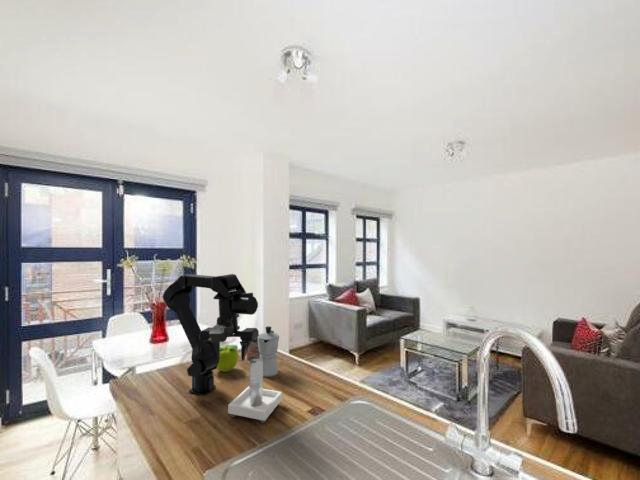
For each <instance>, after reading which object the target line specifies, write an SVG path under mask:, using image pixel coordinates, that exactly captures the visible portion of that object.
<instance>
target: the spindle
mask: <svg viewBox="0 0 640 480" xmlns="http://www.w3.org/2000/svg"><path fill="white" fill-rule="evenodd" d="M263 379H264V377H263V360H262V359H253V360H249V386H250V390H249V404H250V406H254V407H256V406H260V405H261V404H262V403H263V389H264V380H263Z"/></svg>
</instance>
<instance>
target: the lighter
mask: <svg viewBox="0 0 640 480" xmlns="http://www.w3.org/2000/svg"><path fill="white" fill-rule="evenodd" d="M259 357H260V352H259V348H258V339H257V338H255V339H254V340H253V341H251V343H250V345H249V348H248V351H247V354H246V357H245V359H246V360H247V361H251V360H253V359H259Z"/></svg>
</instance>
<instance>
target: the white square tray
mask: <svg viewBox="0 0 640 480" xmlns="http://www.w3.org/2000/svg"><path fill="white" fill-rule="evenodd" d="M249 390H250V385H248V386H247V387H246V388H245V389H243V391H242V392H241V393H239V394H238V395H237V396H236V397H235V398H234V399H233V400H232V401H231V402H230V403H229V404H228V405H227V406H228V407H227V414H230V416H231V418H236V417H237V416H239V417H245V418H248V419H255V420H258V421H259V422H260V424H265V423H266V421H267V419H268V418H269V416H270V415H271V414H272V412H274V410H275V409H276V407H279V405H280V403H281V402H282V400H283V391H279V390H272V389H268V388H263V403H262V404H261V405H260V406H256V407H254V406H250V404H249Z"/></svg>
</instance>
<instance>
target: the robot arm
mask: <svg viewBox="0 0 640 480" xmlns="http://www.w3.org/2000/svg"><path fill="white" fill-rule="evenodd" d="M194 287H195V288H196V287H197V288H205V289H210V290H211V291H212V292H214V293H216V294H215V295H214V296H213V300H218V317H217V318H216V324H215V325H213V326H212V327H211V326H209V327H206V328H204V329H203V330H202V329H201V327H200V325H199V323H198V320H197V318H196V316H195V315H194V313H193V310H192V308H191V306H190V305H191V300H192V298H191V295H190V294H191V293H192V292H193V291H194ZM162 299H163V302H164V304H165V305H166V306H167V308H168V309H169V310H171V311H173V313H175V314H176V316H177V319H178V320H179V323H180V325H181V327H182V330H183V331H184V334H185V336H186V338H187V340H188V342H189V344H190V347H191V350H192V351H191V361H192V363H191V365H189V367H187V369H186V371H187V375H188V377H191V388H190V389H189V390H188V393H191V394H196V395H201V396H206V395H208V393H209V392H211V391H213V390H214V388H216V384H215V382H214V381H215V376H214V370H216V369H217V365H218V363H219V359H220V356H219V355H220V347H221V343H224V342H226V340H227V339H228V338H231V337H232V338H239V339H240V340H241V341H239V344H240V346H241V350H240V351H241V361H242V362H243V361H245V359H246V357H247V351H248V348H249V345H250V343H251V341H253V340H254V339H255V338H257V337H258V336H259V335H260V333H259V330H258V328H257V327H246V328H244V329H243V330H240V329H241V327H240V325H238V324H239V323H238V318H239V317H240V315H250V316H251V315H254V314H256V313H257V310H258V307H259V302H258V300H257V298H256V297H255V296H254V292H247V291H246V290H245V288H244V286H243V285H242V283H241V282H240V280H239V278H238V276H237V275H236V274H234V273H230V274H224V275H223V274H222V275H218V276H215V275H214V276H213V275H204V274H203V275H202V274H201V275H200V274H193V273H188V274H187V273H185V274H182V275H180V276H179V277H178V278H177V279H176V280H175V281H174V282H173V283H171V284H169V286H168V287H167V288H166V289H165V290H164V292H163V294H162Z"/></svg>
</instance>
